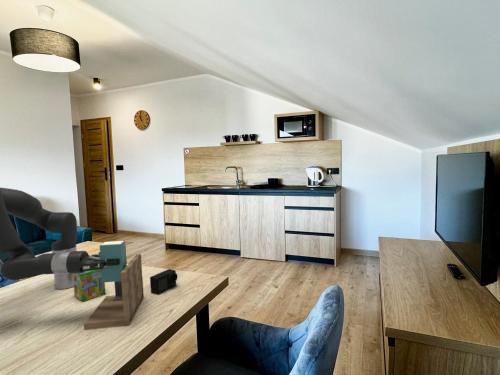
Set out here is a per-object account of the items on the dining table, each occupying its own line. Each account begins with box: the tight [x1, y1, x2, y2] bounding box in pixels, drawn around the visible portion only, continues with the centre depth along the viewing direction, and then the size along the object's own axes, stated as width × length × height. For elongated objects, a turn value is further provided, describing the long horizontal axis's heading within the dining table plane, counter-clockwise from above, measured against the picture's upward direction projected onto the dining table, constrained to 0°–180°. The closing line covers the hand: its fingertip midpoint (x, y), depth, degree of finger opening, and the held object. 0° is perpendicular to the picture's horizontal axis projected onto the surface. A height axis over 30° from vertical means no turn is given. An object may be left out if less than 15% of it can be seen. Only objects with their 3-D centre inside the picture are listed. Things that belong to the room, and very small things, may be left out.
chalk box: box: [73, 269, 106, 303], centre depth 118 cm, size 9×9×15 cm
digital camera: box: [149, 268, 178, 296], centre depth 121 cm, size 10×5×7 cm, turn 148°
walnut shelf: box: [83, 253, 145, 330], centre depth 103 cm, size 20×14×18 cm
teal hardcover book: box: [99, 240, 128, 283], centre depth 101 cm, size 4×7×13 cm, turn 96°
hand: (121, 259), depth 101 cm, fingers closed on teal hardcover book, 4 cm apart
